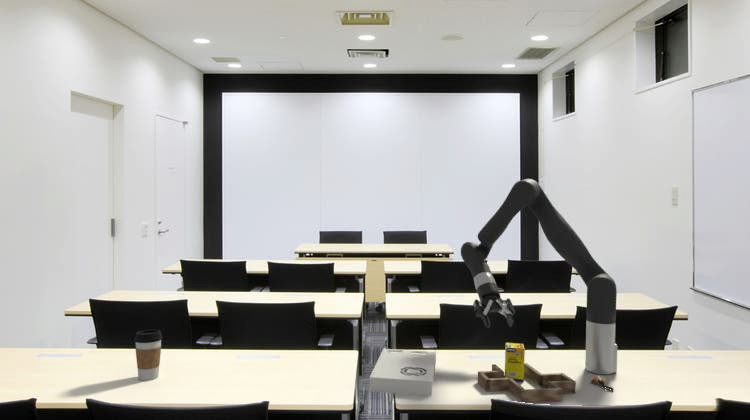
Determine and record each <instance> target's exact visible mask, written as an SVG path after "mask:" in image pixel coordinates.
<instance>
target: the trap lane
mask: <svg viewBox="0 0 750 420" xmlns="http://www.w3.org/2000/svg"><path fill="white" fill-rule="evenodd" d="M524 376H526V377H527V378H528V379H530V380H531V381H532V382H534V383H535V384H536V385H537V386H538V387H541V388H530V389H526V388H524V386H522V385H521V384H519V383H518V381H515V380H513V379H512V378H505V370H503V369H502V368H501V367H499V366H498V365H497V364H495V363H494V364H491V370H487V371H486V370H482V371H481V370H480V371H477V383H478V384H479V385H480V387H482V388H483V389H484V390H485V391H486V392H502V391H503V392H504V391H509V392H510V393H511V394H512V395H513V396H514V397H515V398H516V399H518V400H519V402H521V401H522V402H531V403H532V404H533V403H552V402H563V400H564V398H563V397H564V396H563V395H564V394H576V388H577V387H576V381H575V380H574V379H573V378H571V377H569V376H568V375H566V374H565V373H563V372H561V373H560V372H558V373H557V372H556V373H541V372H540V371H538V370H537V369H536V368H534V367H533V366H531V365H530V364H528V363H527V362H526V363H525V362H524ZM522 402H521V403H522ZM531 403H530V404H531Z"/></svg>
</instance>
